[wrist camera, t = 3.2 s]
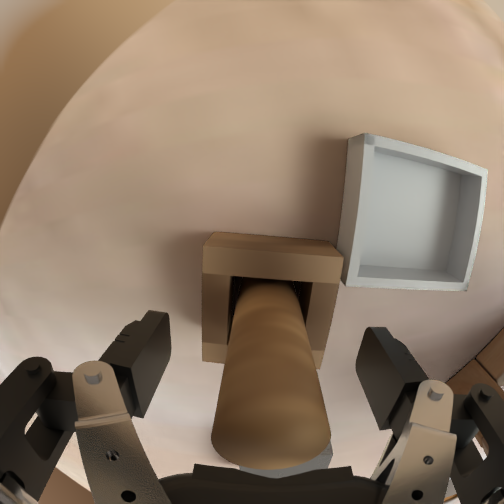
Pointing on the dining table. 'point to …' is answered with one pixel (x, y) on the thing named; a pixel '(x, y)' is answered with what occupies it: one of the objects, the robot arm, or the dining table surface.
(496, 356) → the tan angled wooden part
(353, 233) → the tray
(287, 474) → the grey rectangular block
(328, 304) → the socket block
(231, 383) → the dowel
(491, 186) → the dining table surface
